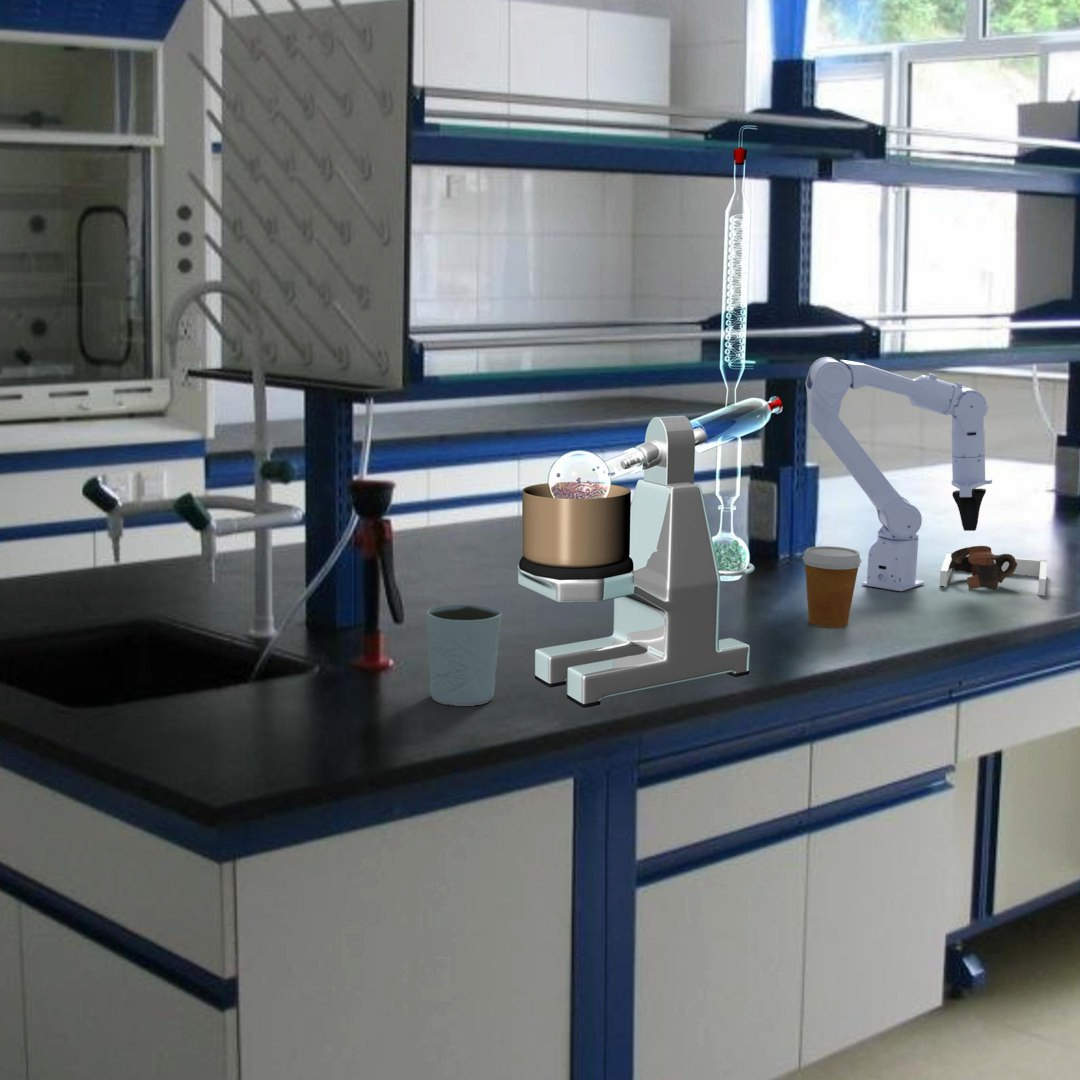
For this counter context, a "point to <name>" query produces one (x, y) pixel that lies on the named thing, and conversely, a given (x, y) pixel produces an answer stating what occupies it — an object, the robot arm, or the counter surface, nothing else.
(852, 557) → the disposable coffee cup
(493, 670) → the grey tapered cup
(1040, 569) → the u-shaped white bracket
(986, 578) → the pottery mug
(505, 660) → the counter surface
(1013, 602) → the counter surface
